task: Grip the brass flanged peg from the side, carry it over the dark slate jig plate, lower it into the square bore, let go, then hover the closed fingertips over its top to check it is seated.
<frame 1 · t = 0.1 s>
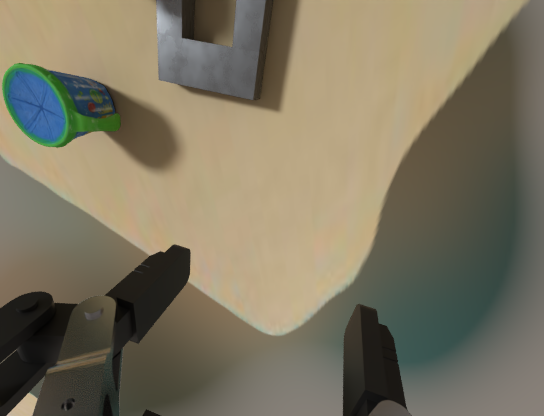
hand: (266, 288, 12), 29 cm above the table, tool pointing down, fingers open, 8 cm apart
jig: (218, 14, 34), on the table
snack cup: (98, 103, 44), on the table
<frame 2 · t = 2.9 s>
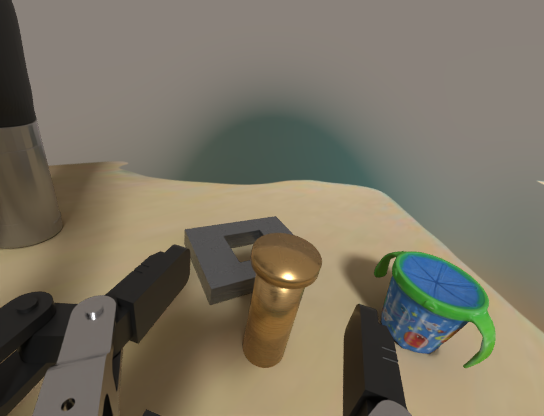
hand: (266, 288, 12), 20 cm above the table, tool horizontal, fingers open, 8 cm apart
jig: (248, 258, 44), on the table
brass flanged peg: (263, 346, 31), on the table
snack cup: (405, 331, 37), on the table
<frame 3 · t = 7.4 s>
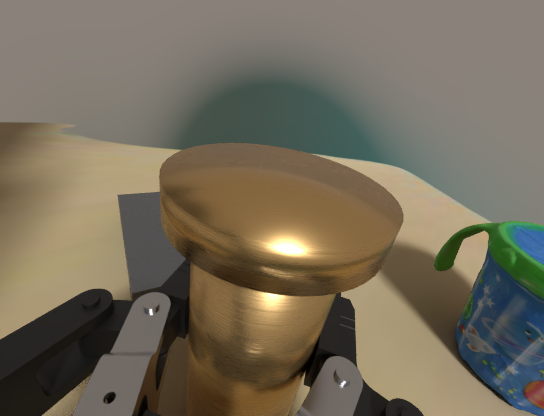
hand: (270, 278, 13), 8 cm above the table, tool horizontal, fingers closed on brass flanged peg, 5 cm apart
jig: (223, 242, 27), on the table
snack cup: (502, 368, 20), on the table
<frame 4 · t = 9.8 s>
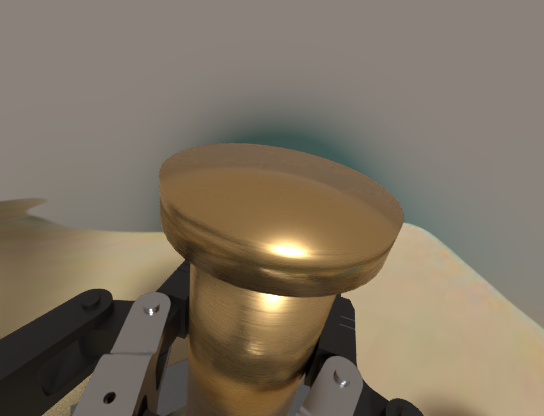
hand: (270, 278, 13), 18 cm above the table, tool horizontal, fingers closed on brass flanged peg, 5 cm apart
when the fingers open (10 cm above the table, at t = 12.3 s): brass flanged peg drops 2 cm, resting in jig.
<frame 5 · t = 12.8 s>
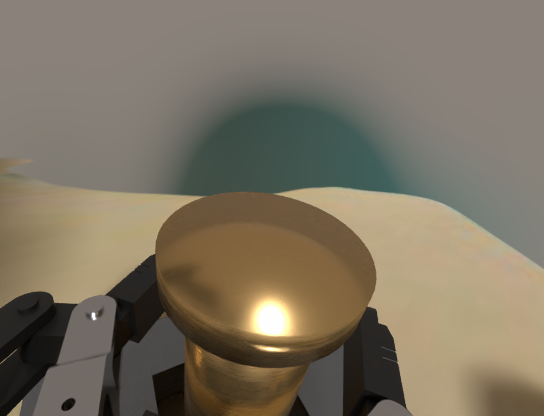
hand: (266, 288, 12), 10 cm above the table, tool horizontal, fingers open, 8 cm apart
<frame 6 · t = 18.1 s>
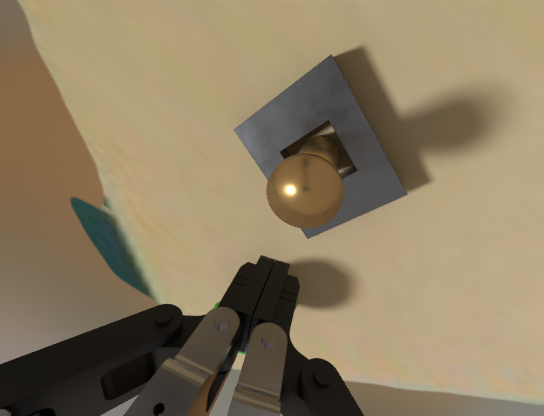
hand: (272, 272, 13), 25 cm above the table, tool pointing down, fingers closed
jig: (319, 155, 35), on the table
brass flanged peg: (318, 155, 35), resting in jig
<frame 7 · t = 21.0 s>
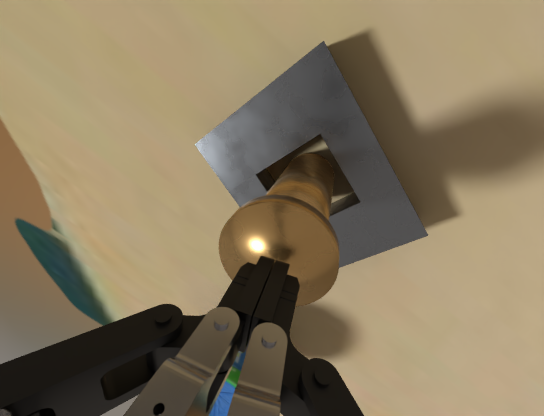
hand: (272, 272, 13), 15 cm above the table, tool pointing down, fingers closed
jig: (310, 177, 26), on the table
brass flanged peg: (309, 177, 26), resting in jig
snack cup: (242, 326, 39), on the table
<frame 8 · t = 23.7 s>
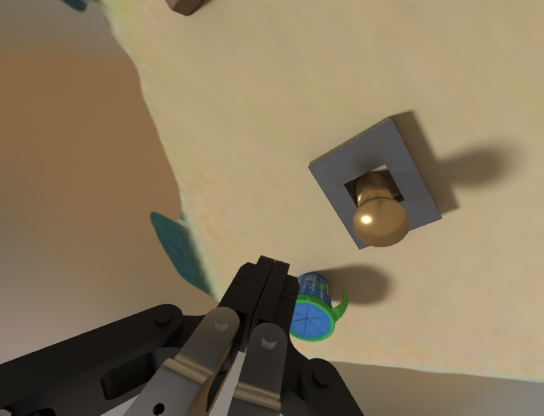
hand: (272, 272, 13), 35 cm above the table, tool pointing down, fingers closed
jig: (371, 185, 45), on the table
brass flanged peg: (371, 185, 45), resting in jig
snack cup: (312, 284, 57), on the table
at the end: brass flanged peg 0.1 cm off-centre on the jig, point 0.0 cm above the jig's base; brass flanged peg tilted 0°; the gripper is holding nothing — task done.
